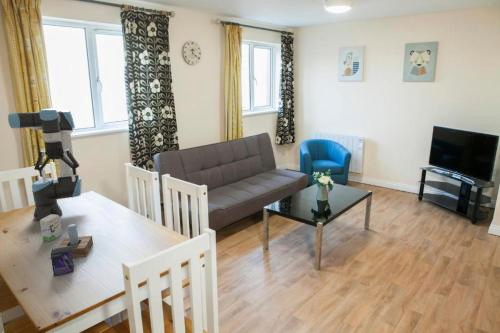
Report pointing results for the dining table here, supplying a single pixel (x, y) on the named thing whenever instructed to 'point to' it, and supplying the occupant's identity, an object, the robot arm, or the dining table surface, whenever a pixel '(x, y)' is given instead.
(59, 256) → the box
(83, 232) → the dining table surface
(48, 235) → the ink box
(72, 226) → the peg
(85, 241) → the socket
